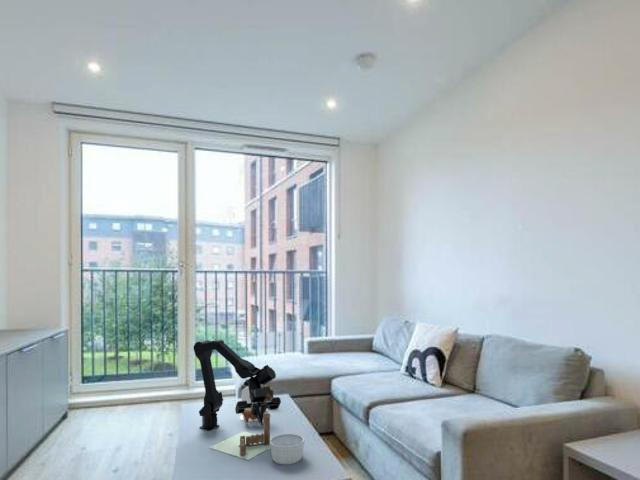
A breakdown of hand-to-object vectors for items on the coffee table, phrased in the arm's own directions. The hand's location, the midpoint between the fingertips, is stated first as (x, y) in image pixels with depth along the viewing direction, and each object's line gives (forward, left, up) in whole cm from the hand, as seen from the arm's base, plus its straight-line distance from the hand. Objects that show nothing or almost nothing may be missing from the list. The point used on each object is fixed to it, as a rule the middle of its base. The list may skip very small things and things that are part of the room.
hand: (261, 424), depth 172 cm
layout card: (-5, -4, -8) cm, 10 cm away
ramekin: (+17, -5, -8) cm, 19 cm away
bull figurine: (-16, +15, -8) cm, 24 cm away
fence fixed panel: (-2, -9, -8) cm, 12 cm away
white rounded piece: (-25, +22, -8) cm, 35 cm away
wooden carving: (-32, +40, -8) cm, 52 cm away
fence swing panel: (-1, -1, -7) cm, 8 cm away
